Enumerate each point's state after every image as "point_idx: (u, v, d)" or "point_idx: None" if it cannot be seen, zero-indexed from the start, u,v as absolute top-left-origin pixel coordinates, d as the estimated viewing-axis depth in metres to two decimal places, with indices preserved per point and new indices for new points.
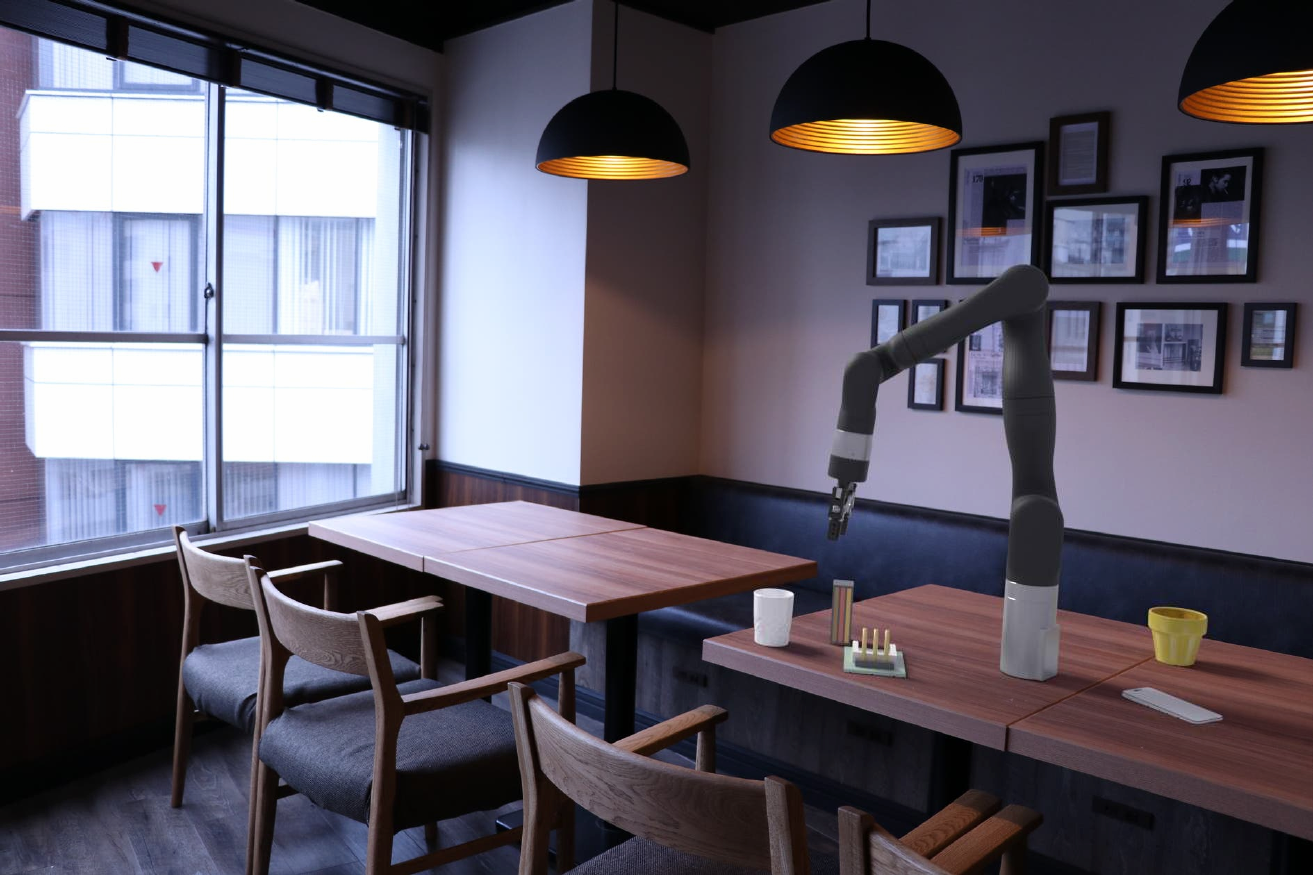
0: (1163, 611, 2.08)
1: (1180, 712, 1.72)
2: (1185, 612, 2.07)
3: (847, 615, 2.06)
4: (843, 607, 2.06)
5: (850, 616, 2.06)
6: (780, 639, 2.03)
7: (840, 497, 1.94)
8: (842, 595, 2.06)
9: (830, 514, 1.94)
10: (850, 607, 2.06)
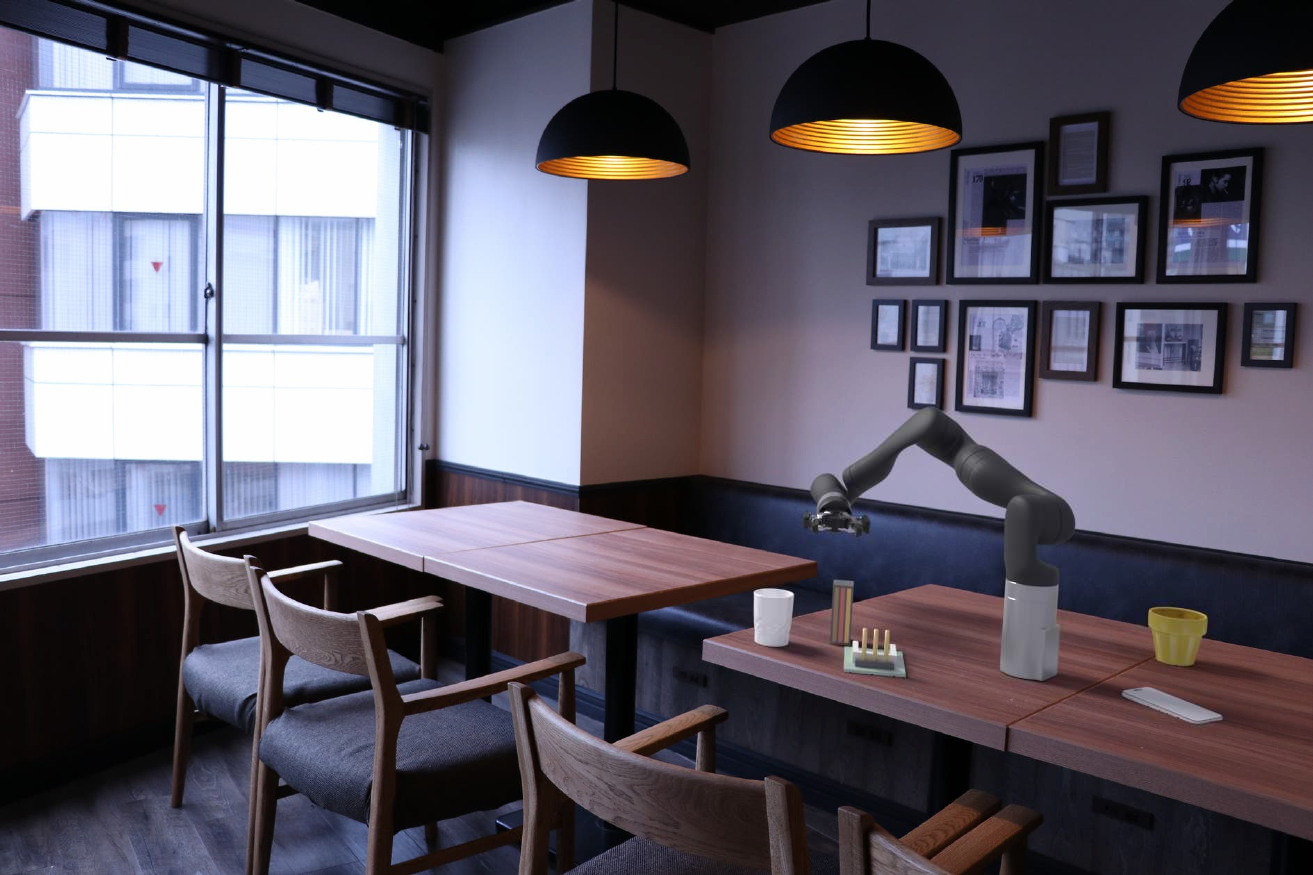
0: (1163, 611, 2.08)
1: (1180, 712, 1.72)
2: (1185, 612, 2.07)
3: (847, 615, 2.06)
4: (843, 607, 2.06)
5: (850, 616, 2.06)
6: (780, 639, 2.03)
7: None
8: (842, 595, 2.06)
9: None
10: (850, 607, 2.06)
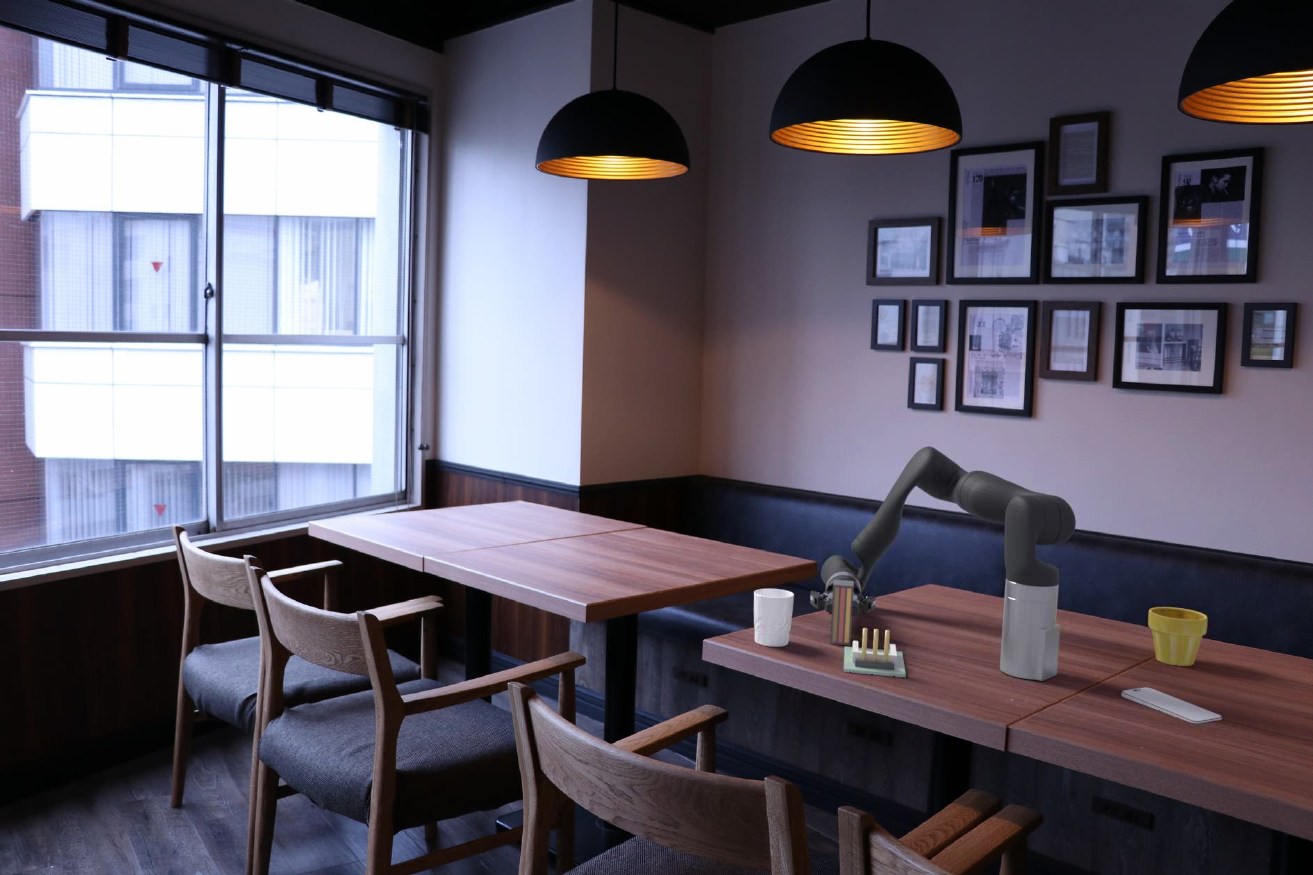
0: (1163, 611, 2.08)
1: (1179, 712, 1.72)
2: (1185, 612, 2.07)
3: (847, 615, 2.06)
4: (843, 607, 2.06)
5: (850, 616, 2.06)
6: (780, 639, 2.03)
7: (812, 596, 2.15)
8: (842, 595, 2.06)
9: (816, 606, 2.12)
10: (850, 607, 2.06)
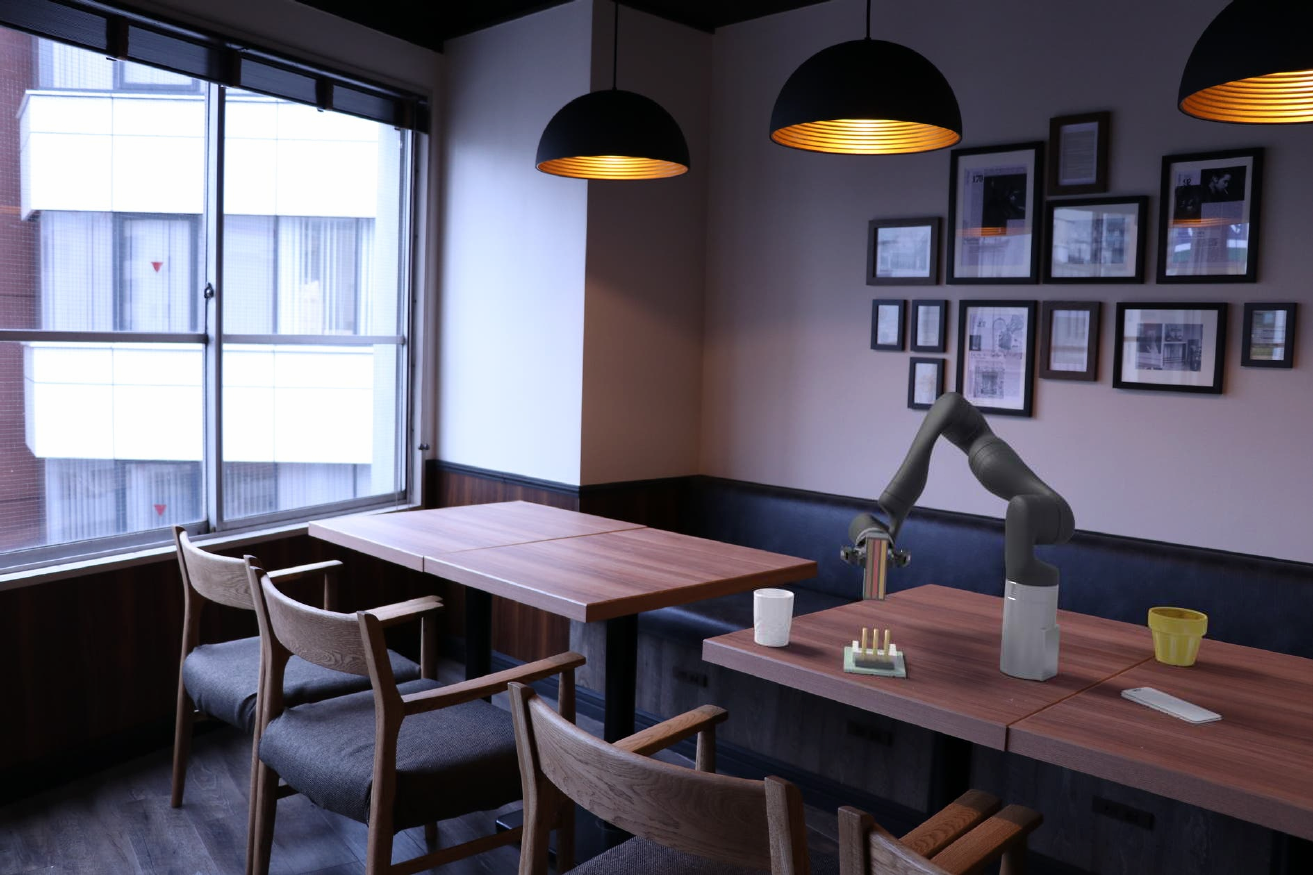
0: (1163, 611, 2.08)
1: (1179, 712, 1.72)
2: (1185, 612, 2.07)
3: (881, 569, 1.93)
4: (877, 561, 1.94)
5: (885, 570, 1.93)
6: (780, 639, 2.03)
7: (843, 551, 2.02)
8: (876, 548, 1.93)
9: (848, 561, 1.99)
10: (885, 560, 1.93)
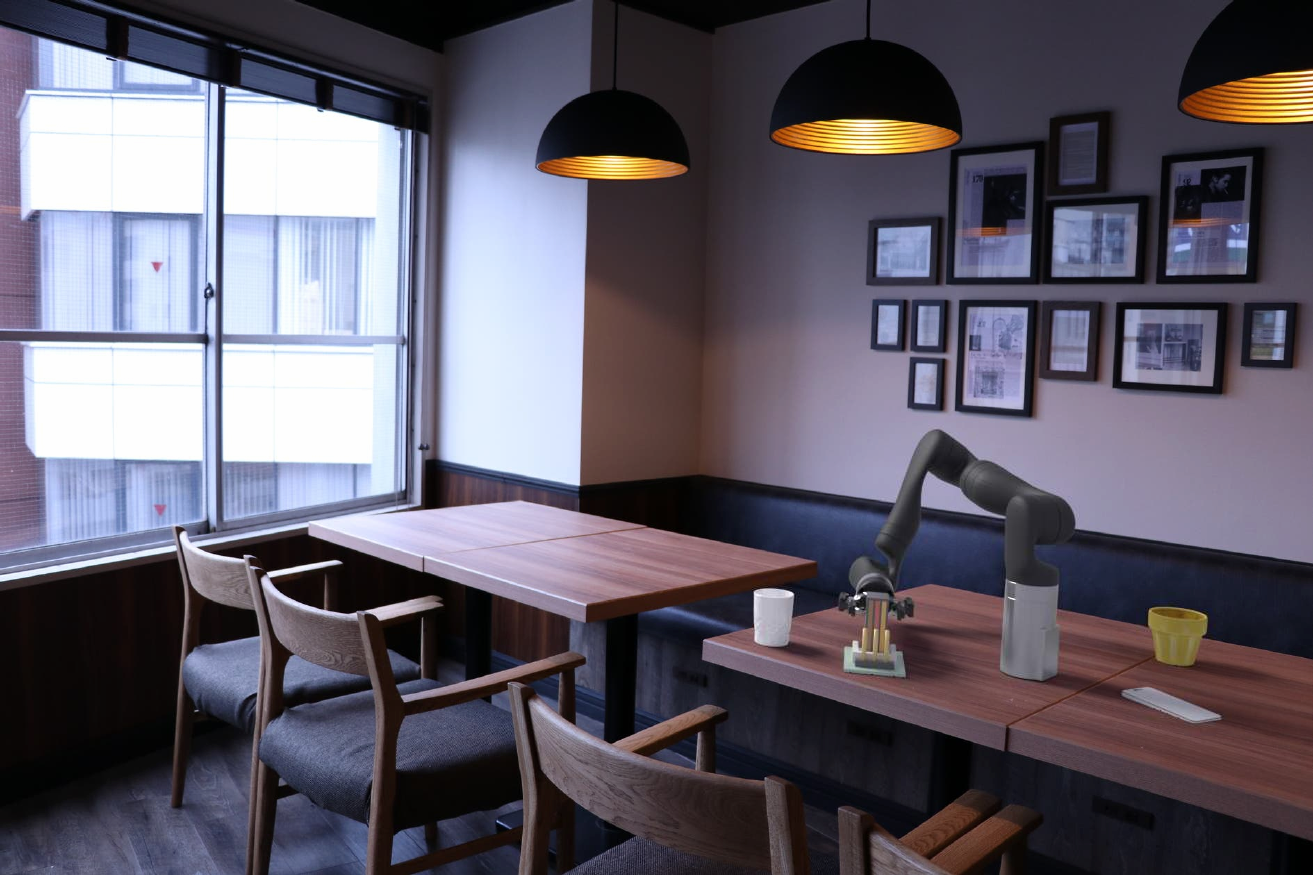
0: (1163, 611, 2.08)
1: (1179, 712, 1.72)
2: (1185, 612, 2.07)
3: (881, 630, 1.93)
4: (877, 622, 1.93)
5: None
6: (780, 639, 2.03)
7: None
8: (876, 609, 1.93)
9: (838, 608, 2.00)
10: (885, 621, 1.93)
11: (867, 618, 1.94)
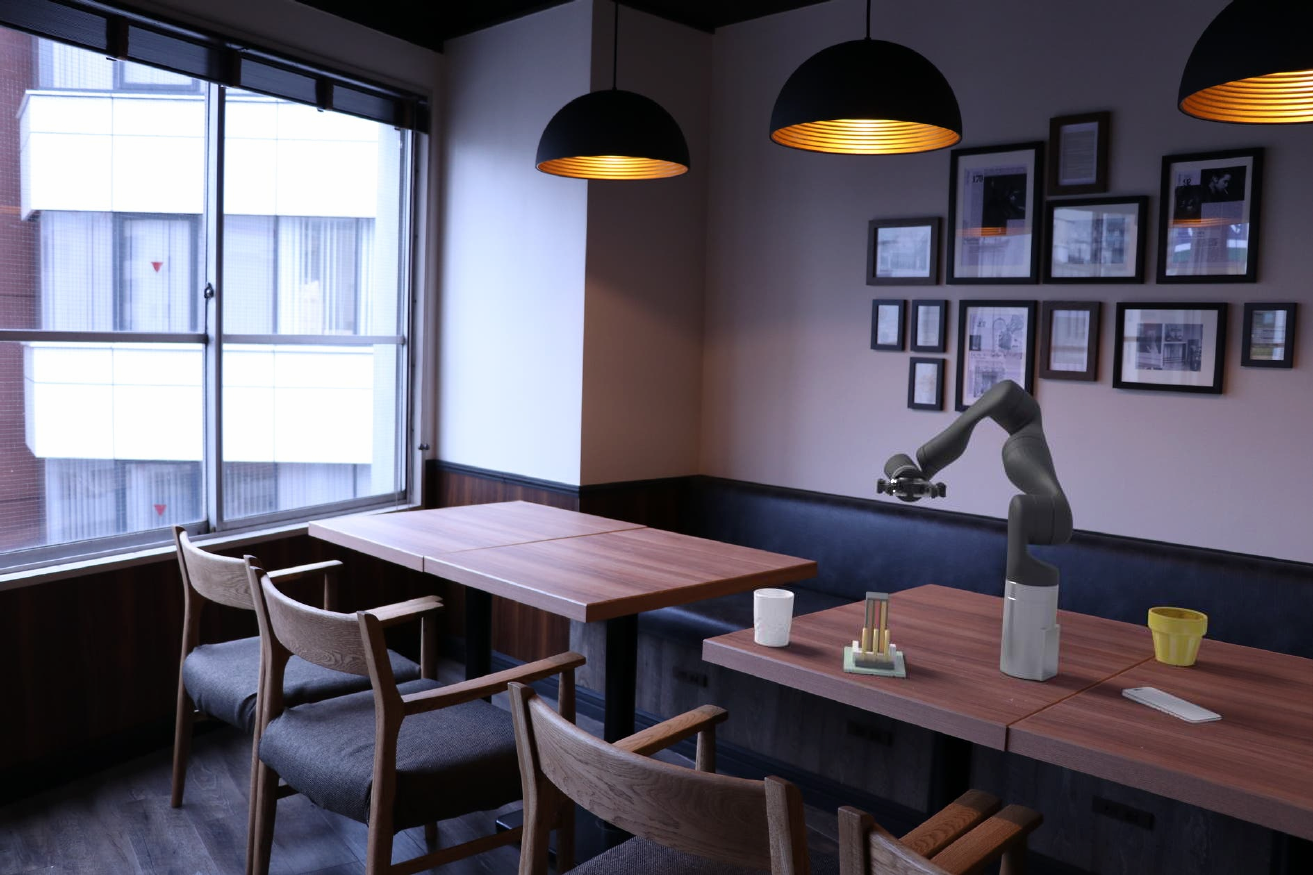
0: (1163, 611, 2.08)
1: (1178, 711, 1.72)
2: (1185, 612, 2.07)
3: (881, 630, 1.93)
4: (877, 622, 1.93)
5: None
6: (780, 639, 2.03)
7: None
8: (876, 609, 1.93)
9: None
10: (885, 621, 1.93)
11: (867, 618, 1.94)
